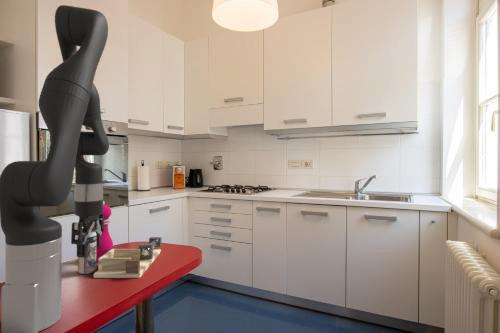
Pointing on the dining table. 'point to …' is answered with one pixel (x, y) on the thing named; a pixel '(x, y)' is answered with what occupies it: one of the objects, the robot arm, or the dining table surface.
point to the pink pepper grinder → (105, 235)
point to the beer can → (88, 256)
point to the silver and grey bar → (156, 243)
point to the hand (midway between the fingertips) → (89, 252)
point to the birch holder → (126, 262)
